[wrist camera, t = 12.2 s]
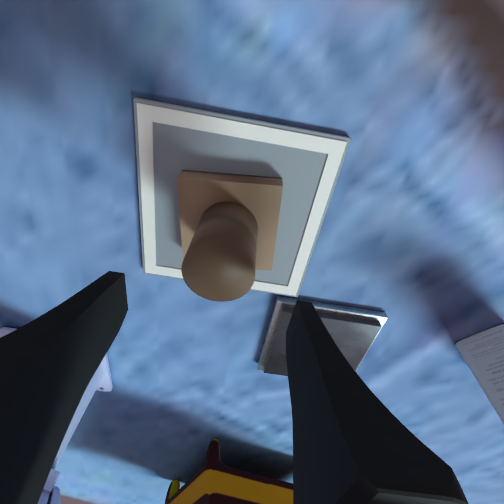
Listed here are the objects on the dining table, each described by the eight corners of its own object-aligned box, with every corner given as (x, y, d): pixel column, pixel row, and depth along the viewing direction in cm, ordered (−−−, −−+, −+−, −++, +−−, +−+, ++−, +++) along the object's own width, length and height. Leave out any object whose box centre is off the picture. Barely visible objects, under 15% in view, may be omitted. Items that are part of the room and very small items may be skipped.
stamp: (188, 252, 21) (163, 313, 16) (182, 169, 17) (148, 213, 12) (271, 259, 21) (272, 321, 16) (282, 177, 17) (288, 224, 12)
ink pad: (257, 363, 28) (257, 375, 27) (277, 295, 23) (277, 306, 22) (347, 376, 29) (350, 387, 28) (385, 312, 24) (390, 323, 23)
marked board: (144, 270, 22) (142, 274, 22) (136, 97, 16) (132, 98, 15) (297, 293, 23) (297, 298, 23) (349, 137, 16) (351, 139, 16)
